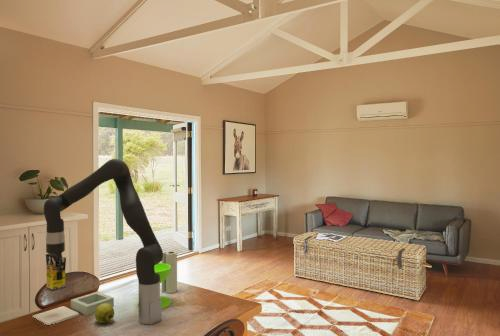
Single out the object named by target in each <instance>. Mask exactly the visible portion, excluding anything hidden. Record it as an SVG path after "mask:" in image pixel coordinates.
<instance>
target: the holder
mask: <svg viewBox="0 0 500 336" xmlns="http://www.w3.org/2000/svg"><path fill="white" fill-rule="evenodd" d="M114 298H115V297H113V296H110V295H108V294H106V293H102V292H99V291H95V292H92V293H89V294H86V295H82V296H79V297H75V298H72V299H70V309H71V310H73V311H75V312H78V313H79V314H80V313H81V314H83V315H84V316H89V315H93V314H95V311H96V309H97V307H98V306H99V305H101V304H104V303H108V304H110V305H111V306H112V307H114V306H115V305H114V304H115V303H114V302H115V301H114V300H115V299H114Z"/></svg>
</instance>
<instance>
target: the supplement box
mask: <svg viewBox="0 0 500 336" xmlns="http://www.w3.org/2000/svg"><path fill="white" fill-rule="evenodd" d="M57 265H59V264H57ZM58 268H59V266H58ZM45 269H46V273H45V274H46V289H47V290H49V291H51V292H55V291H59V290H61V289H66V269H65V270H64V271H62V280H57V270H56V267H55V266H54V264H50V265H46V268H45Z"/></svg>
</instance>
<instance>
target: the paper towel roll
mask: <svg viewBox="0 0 500 336" xmlns="http://www.w3.org/2000/svg"><path fill="white" fill-rule="evenodd" d="M161 263H164V264H168V265H170V266H171V270H170V273H169V275H168V277H167V278H166V279H165V280H164V281H163V282H161V293H164V292H166V293H167V294H175V293H176V292H178V251H173V250H172V251H165V252H163V259H162V261H161Z"/></svg>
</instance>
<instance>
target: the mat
mask: <svg viewBox="0 0 500 336" xmlns="http://www.w3.org/2000/svg"><path fill="white" fill-rule="evenodd" d="M78 316H80V312H78V311H76V310H74V309H72V308H70V307H67V306H64V305H63V306H58V307H56V308H52V309H50V310H47V311H43V312H40V313H36V314H33V315H32V318H33V317H34V318H36V319H37V320H39V321H41V322H43V323H44V324H43V323H42V324H43V325H45V324H46V325H50V326H52V325H51V324H53V325H55V323H56V324H58V323H61V322H64V321H66V320H70V319H73V318H77V317H78ZM34 318H33V319H34ZM36 319H35V320H36ZM37 320H36V321H37ZM39 321H38V322H39ZM41 322H40V323H41ZM46 325H45V326H46Z"/></svg>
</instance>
